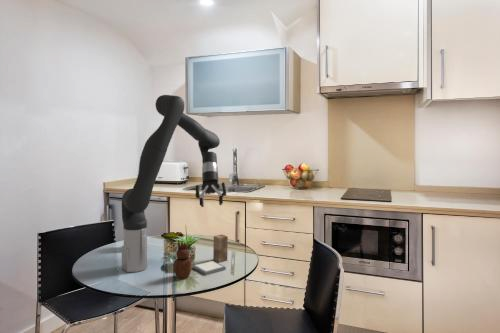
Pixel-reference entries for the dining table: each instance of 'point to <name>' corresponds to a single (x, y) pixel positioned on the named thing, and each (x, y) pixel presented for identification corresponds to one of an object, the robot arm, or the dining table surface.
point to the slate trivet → (209, 267)
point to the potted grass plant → (182, 261)
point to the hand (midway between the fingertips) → (211, 205)
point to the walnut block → (220, 248)
